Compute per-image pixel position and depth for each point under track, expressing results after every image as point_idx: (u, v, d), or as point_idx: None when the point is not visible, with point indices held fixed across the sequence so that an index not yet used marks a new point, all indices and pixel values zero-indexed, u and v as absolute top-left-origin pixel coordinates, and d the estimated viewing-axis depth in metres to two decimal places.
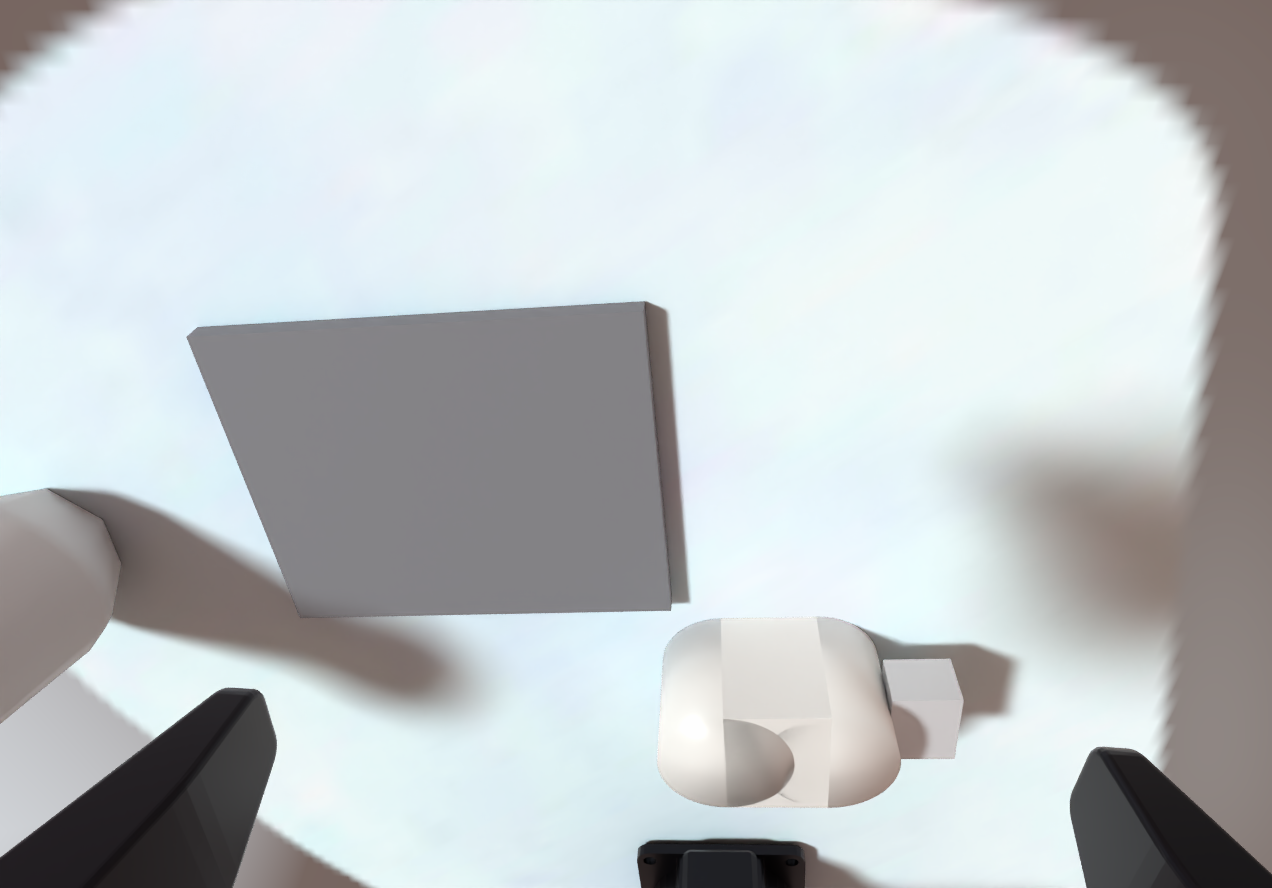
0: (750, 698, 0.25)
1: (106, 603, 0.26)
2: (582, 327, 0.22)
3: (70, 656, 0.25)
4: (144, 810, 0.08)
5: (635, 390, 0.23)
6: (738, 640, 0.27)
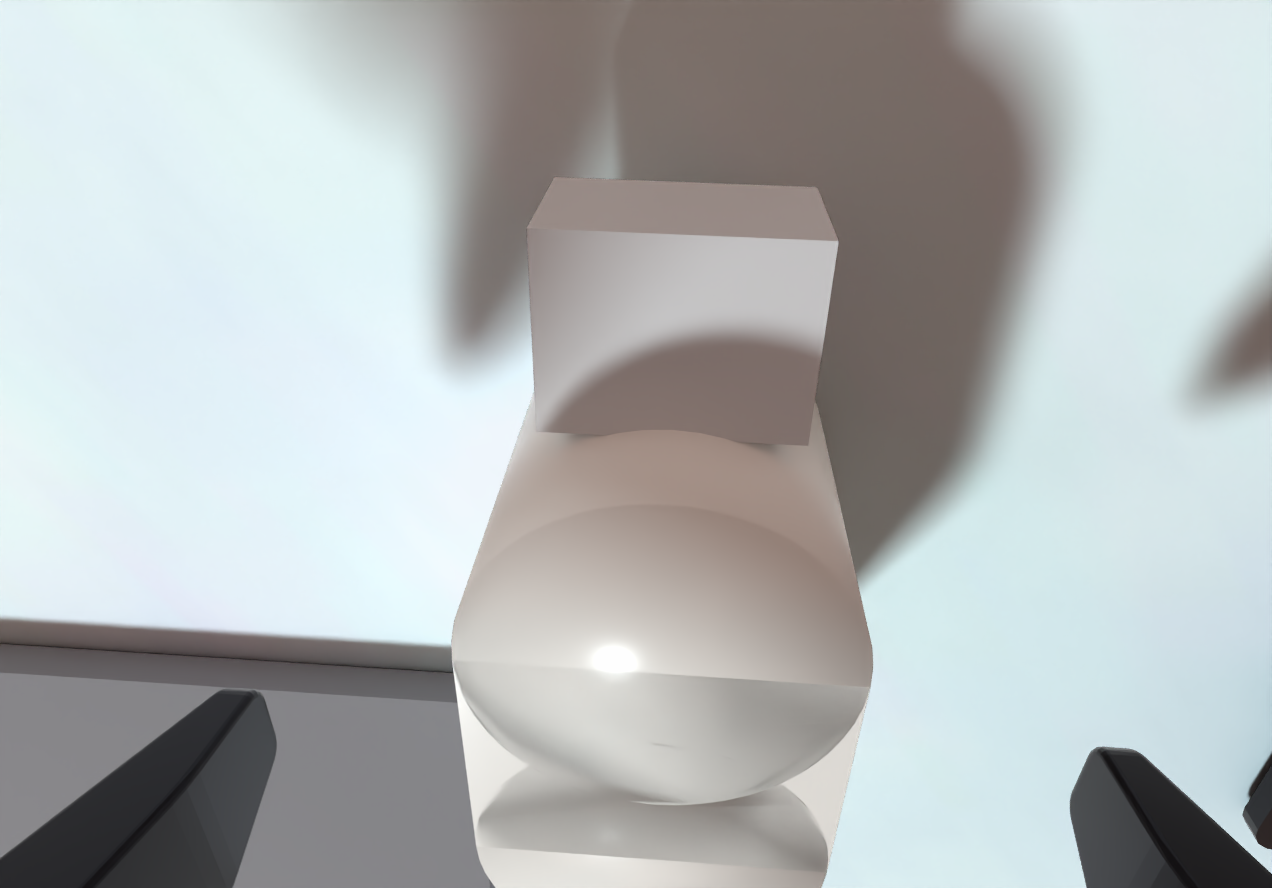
0: None
1: None
2: None
3: None
4: (144, 810, 0.08)
5: (0, 688, 0.14)
6: None
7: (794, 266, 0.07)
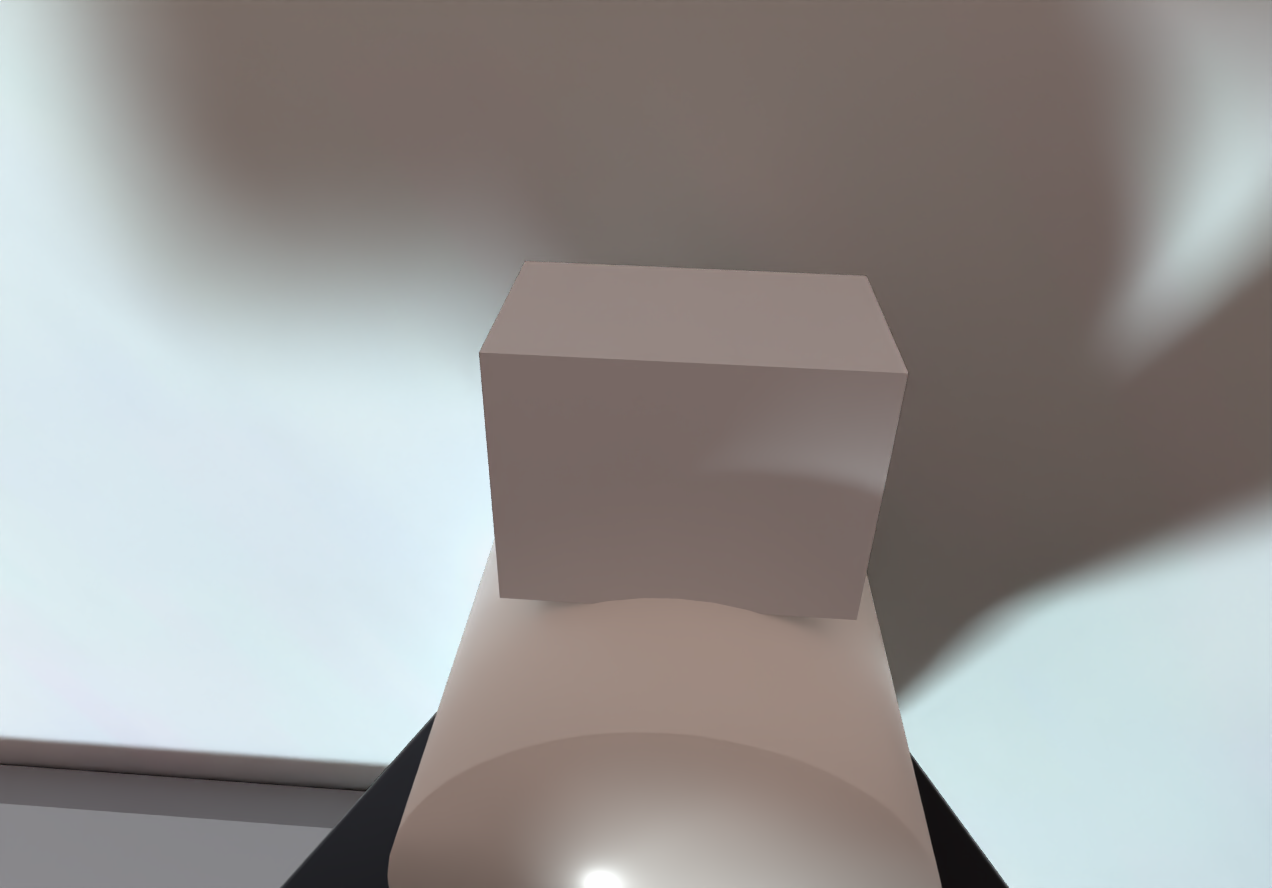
0: None
1: None
2: None
3: None
4: None
5: None
6: None
7: (846, 404, 0.05)
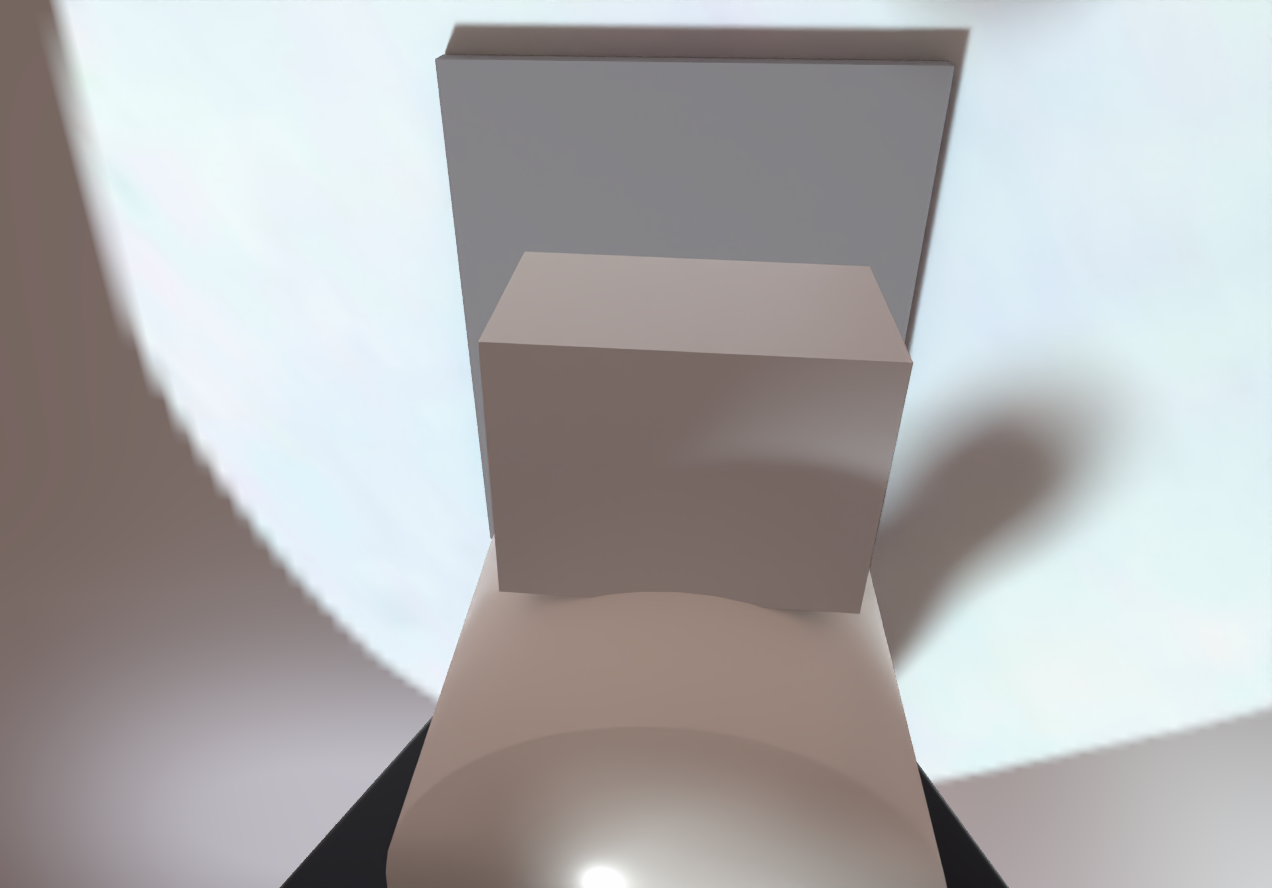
0: None
1: None
2: (461, 140, 0.18)
3: None
4: None
5: (547, 82, 0.17)
6: None
7: (849, 394, 0.05)
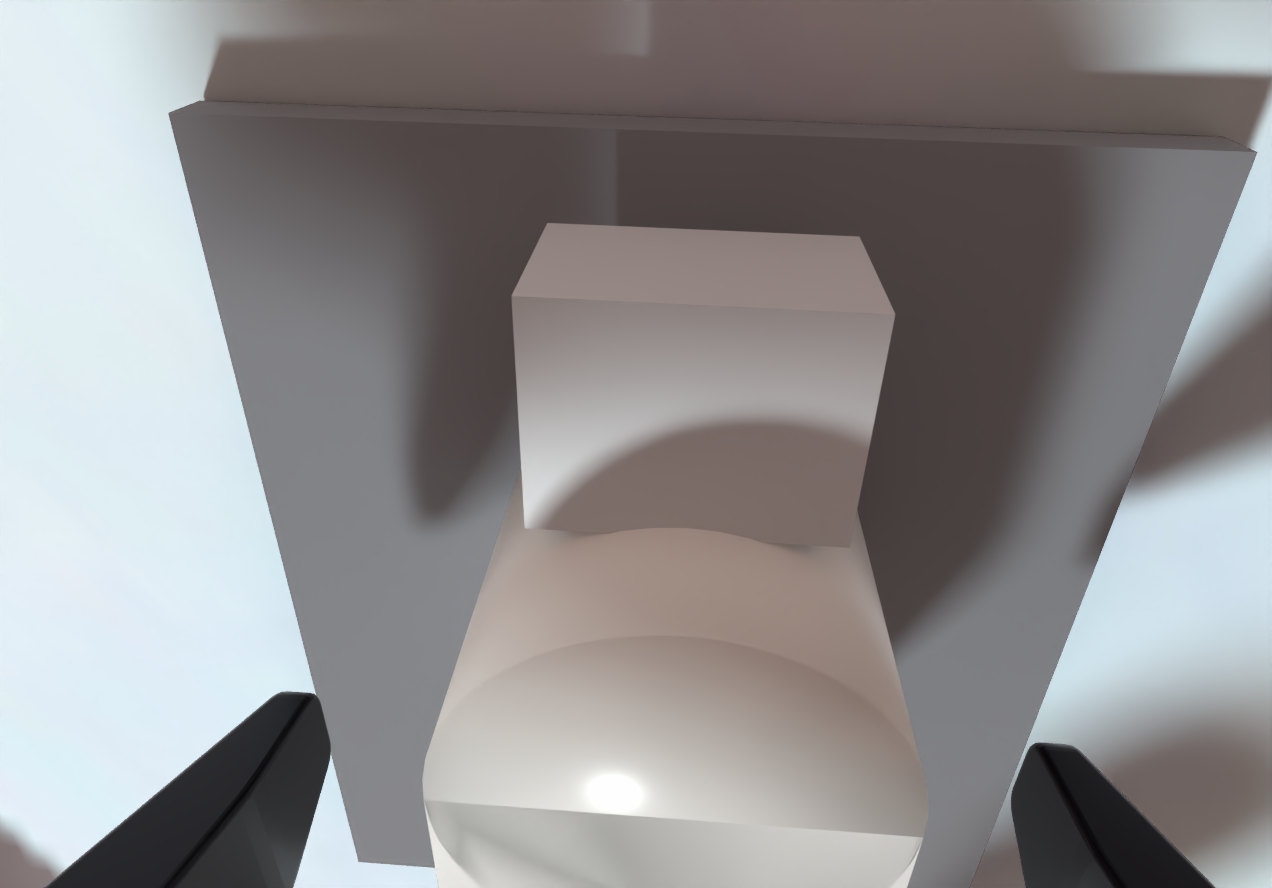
0: None
1: None
2: (241, 270, 0.09)
3: None
4: (213, 815, 0.08)
5: (405, 163, 0.08)
6: None
7: (839, 343, 0.06)
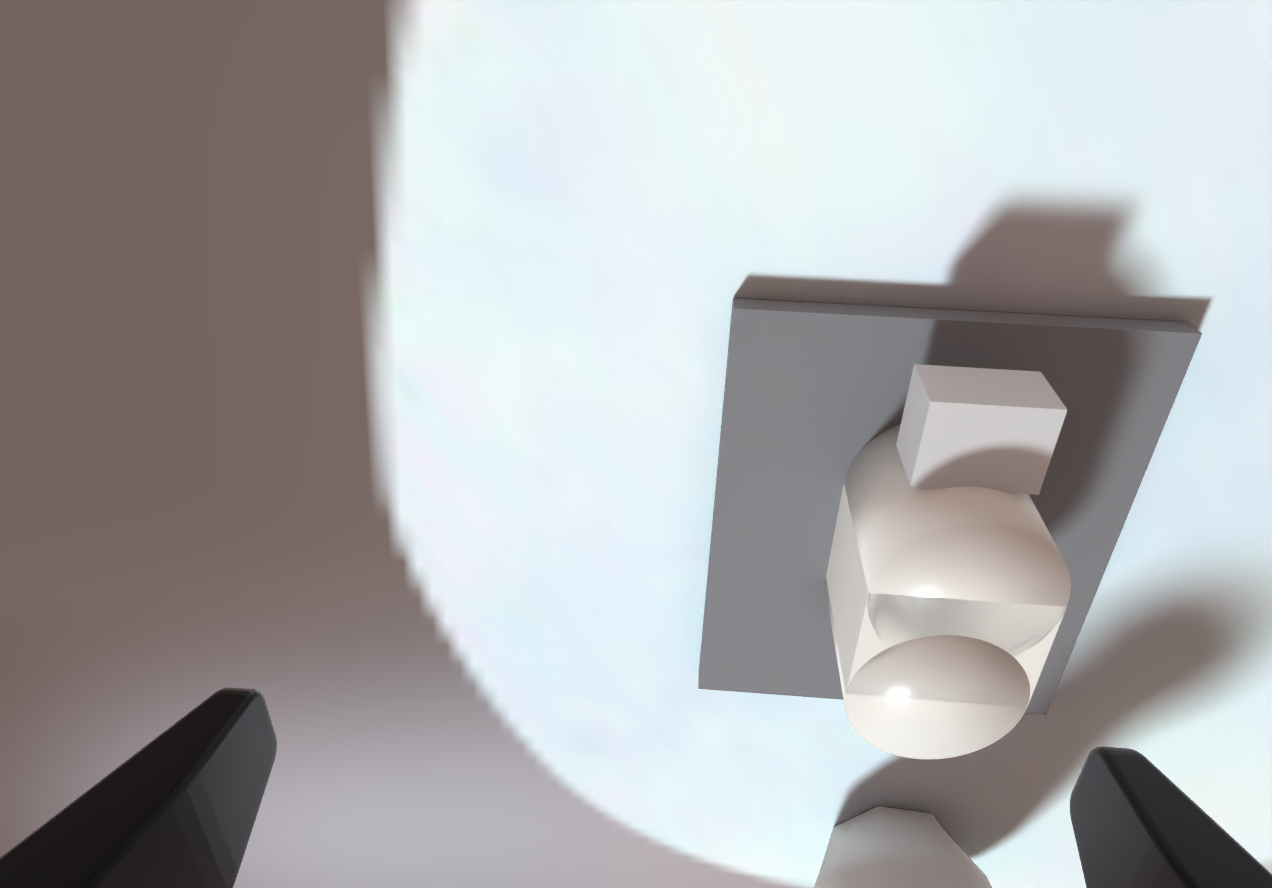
0: (846, 644, 0.20)
1: (945, 856, 0.26)
2: (743, 372, 0.20)
3: None
4: (144, 810, 0.08)
5: (832, 330, 0.19)
6: (833, 586, 0.22)
7: (1046, 419, 0.17)
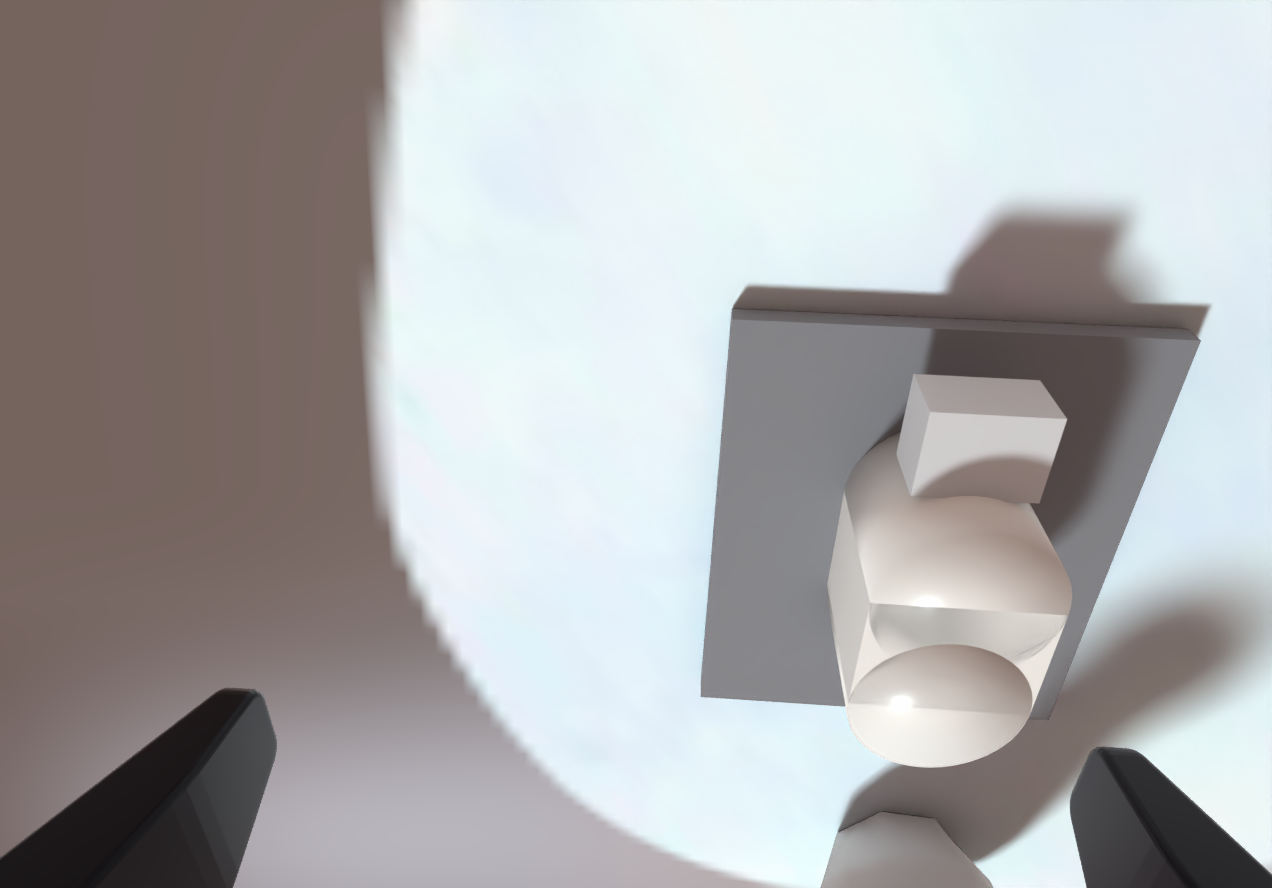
0: (848, 654, 0.20)
1: (949, 862, 0.26)
2: (742, 382, 0.20)
3: None
4: (144, 810, 0.08)
5: (831, 340, 0.19)
6: (834, 594, 0.22)
7: (1045, 428, 0.17)
